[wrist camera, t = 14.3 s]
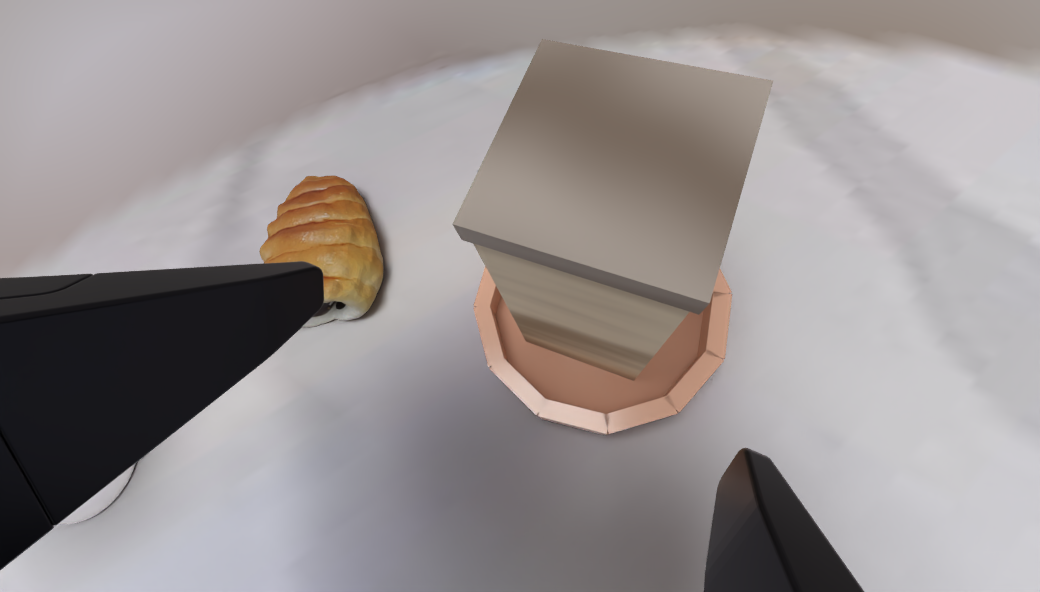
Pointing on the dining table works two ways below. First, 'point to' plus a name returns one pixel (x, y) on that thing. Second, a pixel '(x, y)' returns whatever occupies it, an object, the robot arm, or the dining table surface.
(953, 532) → the dining table surface
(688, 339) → the terracotta bowl
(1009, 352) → the dining table surface
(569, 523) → the dining table surface
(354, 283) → the pastry
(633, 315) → the lidded square box
